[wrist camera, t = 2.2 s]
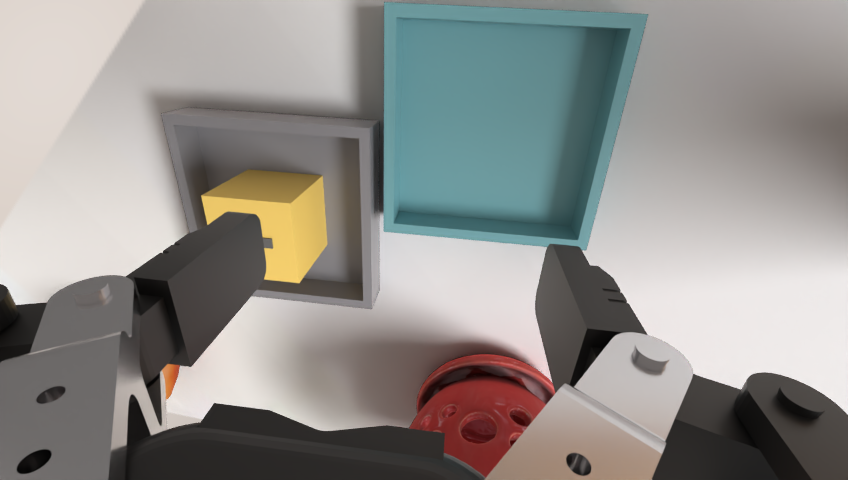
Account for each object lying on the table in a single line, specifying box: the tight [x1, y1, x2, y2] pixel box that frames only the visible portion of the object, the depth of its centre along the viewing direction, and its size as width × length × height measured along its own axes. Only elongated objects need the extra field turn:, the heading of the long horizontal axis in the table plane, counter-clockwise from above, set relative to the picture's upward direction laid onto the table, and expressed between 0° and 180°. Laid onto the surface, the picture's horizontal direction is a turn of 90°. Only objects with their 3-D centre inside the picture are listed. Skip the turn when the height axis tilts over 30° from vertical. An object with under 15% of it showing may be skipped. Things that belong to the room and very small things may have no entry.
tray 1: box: [161, 107, 380, 309], centre depth 26 cm, size 12×12×2 cm
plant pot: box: [410, 354, 555, 477], centre depth 28 cm, size 13×13×12 cm
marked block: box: [201, 169, 327, 283], centre depth 25 cm, size 5×5×5 cm
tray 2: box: [384, 2, 648, 250], centre depth 22 cm, size 12×12×2 cm
